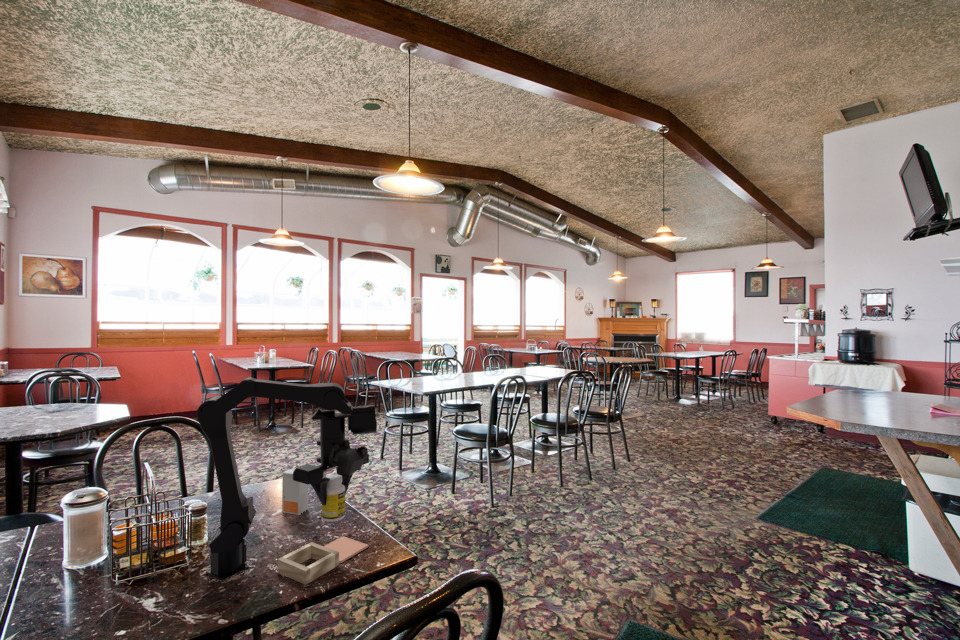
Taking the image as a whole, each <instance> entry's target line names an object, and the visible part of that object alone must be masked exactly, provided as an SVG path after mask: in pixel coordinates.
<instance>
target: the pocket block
mask: <svg viewBox="0 0 960 640" xmlns="http://www.w3.org/2000/svg"><path fill="white" fill-rule="evenodd" d="M324 546H325V545H324ZM324 546H323V545H321V544H318V543H315V542H313V541H311V542H308V543H307V544H304V545H303V546H301V547H299V548H298V549H294V550H293V551H290V552H289V553H287V554H285V555H283V556H281V557H279V558H278V559H277V573H278V574H280V575H282V576H285V577H287V578H290V579H291V580H293V581H296V582H298V583H301V584H303V585H308V584H310V583H311V582H313V581H315V580H316V579H318V578H319V577H321V576H323V575H325V574H327V573H328V572H330V571H331V570H333V569H334V568H337V567H338V566H340V563H339V552H337V551H335V550H332V549H329V548H327V547H324ZM310 559H313V560H315V561H314V562H313V563H311V564H309V565H307V566H305V565H303V563H304V562H306V561H307V560H310Z"/></svg>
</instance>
